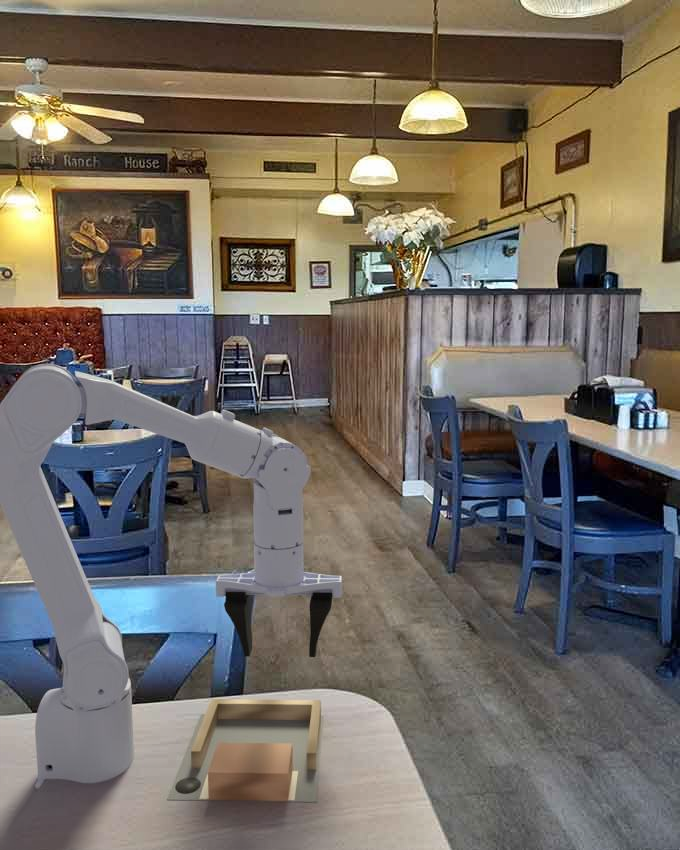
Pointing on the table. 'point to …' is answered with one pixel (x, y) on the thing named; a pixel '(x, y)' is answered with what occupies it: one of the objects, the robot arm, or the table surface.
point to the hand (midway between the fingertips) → (280, 652)
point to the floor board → (293, 732)
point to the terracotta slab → (250, 772)
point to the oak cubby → (258, 711)
